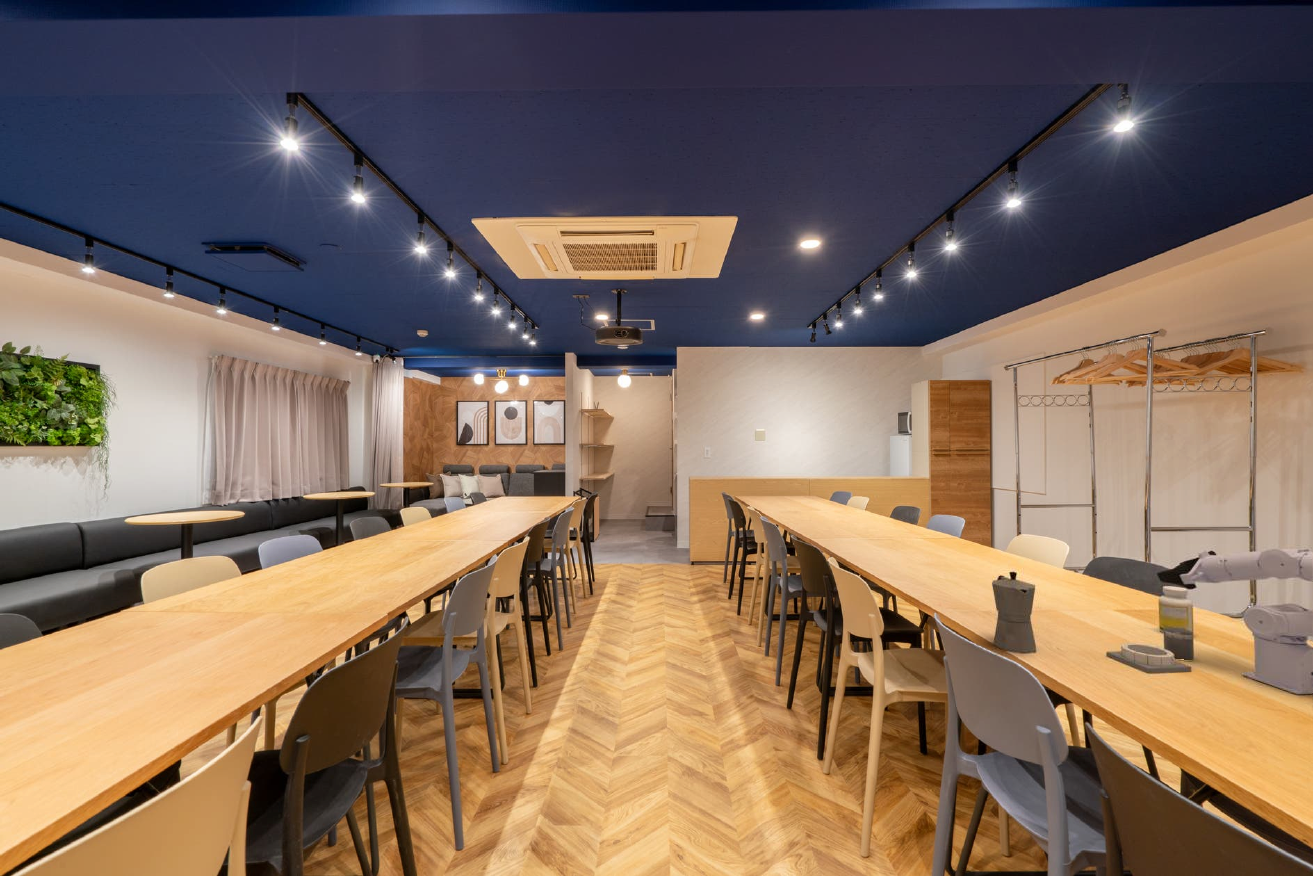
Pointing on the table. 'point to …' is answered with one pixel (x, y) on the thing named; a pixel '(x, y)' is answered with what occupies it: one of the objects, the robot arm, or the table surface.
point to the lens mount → (1148, 658)
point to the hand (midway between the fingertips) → (1171, 572)
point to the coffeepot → (1014, 614)
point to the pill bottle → (1175, 609)
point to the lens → (1179, 642)
